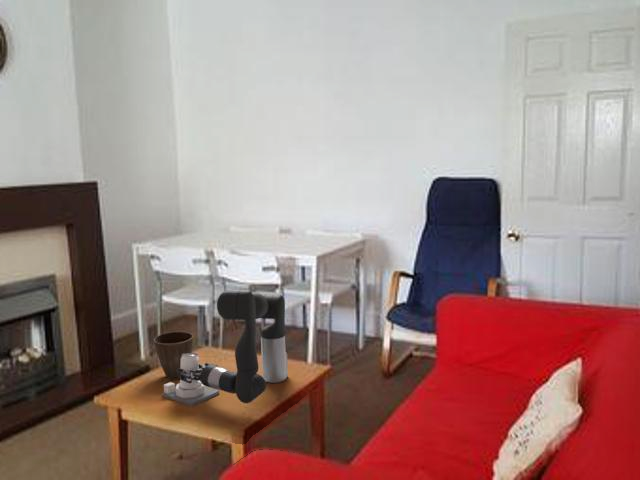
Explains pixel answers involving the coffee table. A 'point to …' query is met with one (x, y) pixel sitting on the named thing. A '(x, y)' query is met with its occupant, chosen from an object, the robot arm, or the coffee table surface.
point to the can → (189, 363)
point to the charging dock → (194, 399)
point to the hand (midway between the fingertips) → (185, 368)
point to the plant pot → (172, 351)
